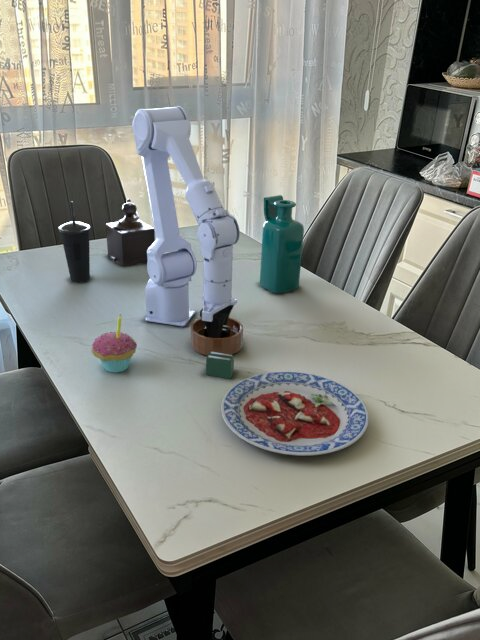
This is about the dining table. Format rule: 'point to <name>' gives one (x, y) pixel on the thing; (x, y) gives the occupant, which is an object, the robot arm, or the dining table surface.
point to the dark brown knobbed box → (129, 237)
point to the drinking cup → (76, 248)
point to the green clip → (220, 365)
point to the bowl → (217, 344)
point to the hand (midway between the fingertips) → (216, 338)
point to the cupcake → (114, 349)
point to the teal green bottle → (280, 246)
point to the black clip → (224, 332)
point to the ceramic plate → (294, 413)
